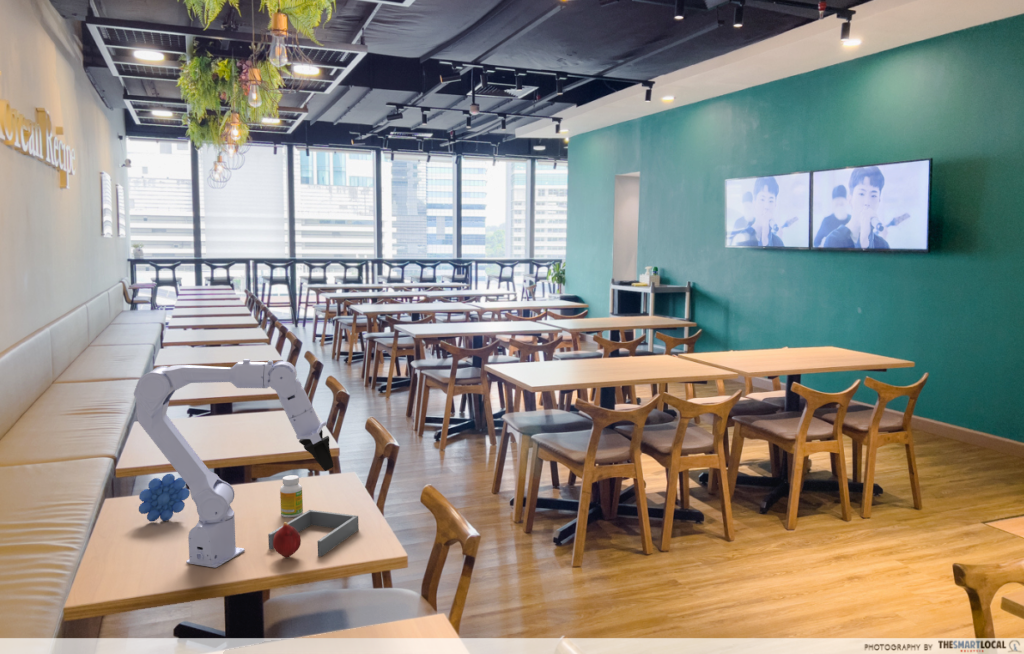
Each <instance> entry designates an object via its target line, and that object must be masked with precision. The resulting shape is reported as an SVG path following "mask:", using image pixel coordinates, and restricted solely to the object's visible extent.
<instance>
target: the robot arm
mask: <svg viewBox="0 0 1024 654" xmlns="http://www.w3.org/2000/svg"><path fill="white" fill-rule="evenodd" d="M297 375H298V374H297V368H296V366H294V365H293V363H291V362H289V361H287V360H286V361H285V360H281V359H280V360H278V361H275V362H274V361H273V360H272V359H271V360H270V359H269V360H268V361H267V362H264V361H261V362H260V361H251V359H250V358H243V360H242V361H238V362H236V363H235V364H234V365H233V366H231V367H230V366H228V367H227V366H212V365H211V366H209V365H194V364H193V365H191V364H190V365H189V364H174V365H170V366H166V365H161V366H157V367H155V368H153V369H152V370H151V371H150V372H149V371H148V372H147V373H145V374H143V375H142V376H141V377H139V379H138V381H137V384H136V386H135V389H134V392H133V396H134V398H135V404H136V406H135V407H136V415H137V417H136V419H137V421H138V423H139V425H140V426H141V427H142V429H143V430H144V431H145V433H146V434H147V435H148V437H150V439H151V440H152V441H153V443H154V444H155V445H156V447H157V448H158V450H160V452H161V453H162V455H164V457H165V458H166V459H167V461H168V462H169V463H170V465H171V466H172V467H173V469H174V470H175V471H176V472H177V474H178V475H179V476H180V478H182V479H183V480H184V481H185V482H186V484H185V485H187V486H188V487H189V489H188V490H189V491H190V496H191V499H192V500H193V503H194V504H195V506H196V513H197V514H198V522H197V523H196V525H194V527H192V528H191V529H190V531H189V533H188V535H187V536H188V537H187V538H188V540H187V541H188V557H189V559H187V560H186V564H189V565H190V564H192V565H197V566H203V567H208V568H209V567H210V568H218V567H220V566H221V565H223V564H225V563H227V562H228V561H230V560H232V559H233V558H235V557H236V556H238V555H240V554H242V553H243V552H245V551H246V549H245V548H243V547H237V546H236V545H237V544H236V543H237V542H236V524H235V519H236V518H235V511H234V510H233V508H232V507H231V504H232V503H233V501H234V498H235V495H236V494H235V489H234V487H233V486H232V485H231V484H230V483H228V482H227V481H225V480H223V479H221V478H220V476H218V474H217V473H215V472H212V471H211V470H209V468H208V466H207V465H206V464H205V463H204V461H203V460H202V459H201V457H200V456H199V455H198V454H197V452H196V451H195V450H194V448H193V447H192V446H191V445H190V443H189V442H188V441H187V439H186V438H185V436H184V435H182V433H181V432H180V430H179V429H178V428H177V426H176V425H175V424H174V422H173V421H172V420H171V418H169V416H168V415H167V411H168V407H169V403H170V400H171V398H172V396H173V395H174V394H175V392H176V391H178V390H179V389H181V388H184V387H185V386H188V385H190V384H202V383H204V384H205V383H206V384H207V383H231V385H233V386H234V387H235V388H236V389H268V388H271V389H272V390H274V391H275V392H276V394H277V396H278V398H279V402H280V404H281V406H282V408H283V410H284V412H285V414H286V417H287V419H288V421H289V423H290V425H291V427H292V428H293V429H292V430H293V431H294V433H295V434H296V435H295V436H296V439H297V440H298V442H299V444H301V445H303V448H304V450H306V452H308V453H309V454H311V456H312V457H313V458H314V459H315V461H316V463H318V464H319V466H320V468H321V469H323V471H324V472H326V471H327V472H328V471H329V470H330V469H333V468H334V467H335V466H334V462H333V457H332V455H331V450H330V436H329V435H326V436H323V433H324V432H323V428H324V427H325V426H327V425H328V423H327V421H326V420H323V421H322V422H321V421H320V419H319V417H318V415H317V413H316V411H315V408H314V407H313V404H312V403H311V400H310V398H309V396H308V394H307V392H306V390H305V389H304V387H303V386H302V382H301V381H300V380H299V378H297Z"/></svg>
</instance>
